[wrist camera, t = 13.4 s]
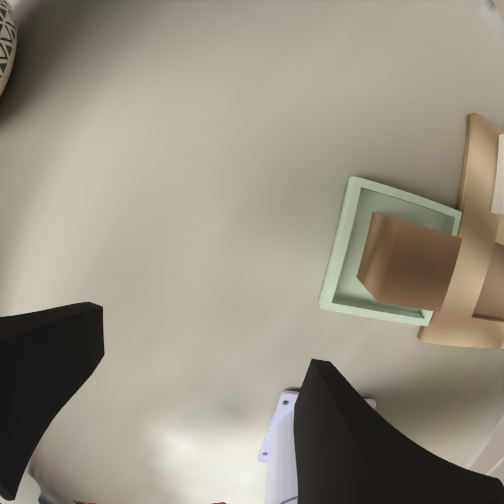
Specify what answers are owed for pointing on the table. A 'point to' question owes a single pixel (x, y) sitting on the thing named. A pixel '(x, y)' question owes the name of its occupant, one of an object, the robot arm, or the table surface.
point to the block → (407, 263)
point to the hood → (499, 181)
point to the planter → (7, 42)
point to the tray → (353, 242)
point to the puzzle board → (475, 252)
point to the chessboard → (93, 503)
